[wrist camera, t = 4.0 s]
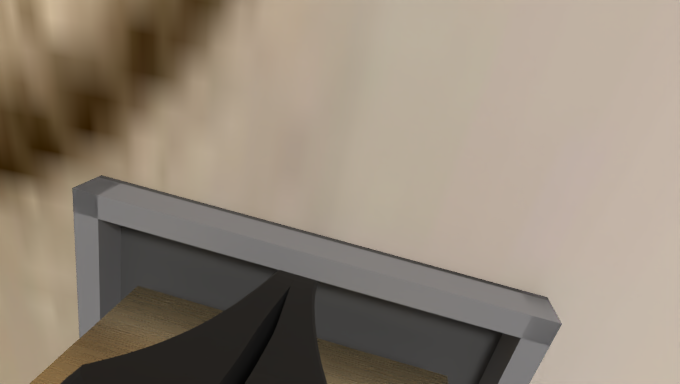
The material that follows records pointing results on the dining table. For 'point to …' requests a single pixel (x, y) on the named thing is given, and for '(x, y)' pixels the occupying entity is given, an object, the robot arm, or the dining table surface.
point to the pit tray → (312, 262)
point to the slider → (182, 315)
